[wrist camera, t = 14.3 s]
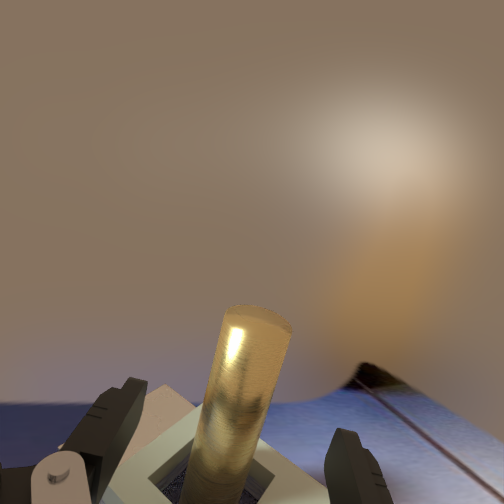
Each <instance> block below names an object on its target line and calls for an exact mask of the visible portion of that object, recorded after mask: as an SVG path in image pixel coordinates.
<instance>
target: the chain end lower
mask: <svg viewBox="0 0 504 504" xmlns="http://www.w3.org/2000/svg"><path fill="white" fill-rule="evenodd" d="M195 408H196V407H195V406H194V405H192V404H191V403H190V402H188V401H187V400H186V399H184V398H183V397H182V396H181V395H179V394H178V393H177V392H175V391H174V390H173V389H171V388H170V387H169V386H168V385H166V384H164V385H162V386H161V387H159V388H157V389H156V390H154V391H152V392H150V393H149V394H147V395H145V401H144V406H143V411H142V415H141V418H140V421H139V424H138V426H137V429H136V431H135V433H134V435H133V437H132V439H131V441H130V443H129V445H128V447H127V449H126V451H125V453H124V455H123V457H122V459H121V461H120V463H119V465H118V467H119V466H120V465H121V464H123V463H124V462H125V461H127V460H128V459H129V458H131V457H132V456H133V455H135V454H136V453H137V452H139V451H140V450H141V449H143V448H144V447H145V446H147V445H148V444H149V443H151V442H152V441H153V440H154V439H156V438H157V437H158V436H160V435H161V434H162V433H164V432H165V431H166V430H168V429H169V428H170V427H172V426H173V425H174V424H176V423H177V422H178V421H180V420H181V419H182V418H184V417H185V416H186V415H188V414H189V413H190V412H192V411H193V410H194V409H195ZM63 445H64V444H62V445H60V446H59V447H58V449H57V452H58V451H59V450H60V449H61V447H62V446H63ZM190 454H191V453H189V454H188V455H187V456H186V457H185V458H184V459H183V460H182V461H181V462H180V463H179V464H177V465H176V466H175V467H174V468H173V469H172V470H171V471H170V472H169V473H168V474H166V475H165V476H164V477H163V478H162V479H161V480H160V481H159V482H158V483H157V484H156V485H155V486H156V487H157V488H158V489H159V490H160V491H161V492H162V491H163V490H164V489H165V488H166V487H167V486H168V485H169V484H170V483H171V482H172V481H173V480H174V479H175V478H176V477H177V476H178V475H179V474H181V473H182V472H183V471H184V470H185V469H186V468H187V466H188V462H189V458H190ZM244 489H245V490H246V491H247V492H249V493H250V494H251V495H252V496H253V497H254V498H256V499H257V500H258V501H259V500H260V498H261V497H262V495H263V494H264V492H265V491H266V489H267V488H266V487H264V486H263V485H262V484H261V483H259V482H258V481H257V480H256V479H255V478H253V477H252V476H251V475H250V474H248V476H247V479H246V483H245V486H244ZM99 504H105V502H104V501H103V500H102V499H101V500H100V502H99Z"/></svg>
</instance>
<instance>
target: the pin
mask: <svg viewBox="0 0 504 504" xmlns="http://www.w3.org/2000/svg"><path fill="white" fill-rule="evenodd" d="M291 335H292V327H291V325H290V324H289V322H287V320H285V319H284V318H283V317H282V316H280V315H279V314H277V313H275V312H273V311H271V310H268V309H265V308H262V307H258V306H253V305H237V306H232V307H230V308H229V309H227V310H226V312H225V316H224V319H223V323H222V327H221V331H220V336H219V340H218V344H217V348H216V352H215V356H214V360H213V365H212V368H211V372H210V377H209V381H208V385H207V389H206V393H205V397H204V401H203V405H202V409H201V413H200V417H199V421H198V425H197V430H196V434H195V438H194V442H193V446H192V450H191V454H190V458H189V462H188V466H187V470H186V474H185V479H184V483H183V487H182V491H181V495H180V499H179V503H178V504H239V502H240V499H241V495H242V492H243V489H244V486H245V483H246V479H247V476H248V473H249V470H250V466H251V463H252V460H253V457H254V454H255V450H256V447H257V444H258V441H259V438H260V434H261V431H262V428H263V425H264V421H265V418H266V415H267V412H268V409H269V405H270V402H271V399H272V396H273V392H274V389H275V386H276V383H277V380H278V376H279V373H280V370H281V367H282V364H283V360H284V357H285V354H286V351H287V347H288V344H289V341H290V337H291Z"/></svg>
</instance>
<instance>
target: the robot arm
mask: <svg viewBox="0 0 504 504" xmlns="http://www.w3.org/2000/svg"><path fill="white" fill-rule="evenodd" d="M147 384H148V383H147V381H144V380H140V379H136V378H132V377H129V378H128V380H127V381H126V383H125V384H124V385H123V387H122V388H121V389H118V388H113V387H112V388H110V389H108V390H107V391H105V392H104V393H102V394H101V395H100V396H99V397H98V399H97V400H96V401H95V403H94V404H93V406H92V407H91V408H90V409H89V411H88V412H87V413H86V416H84V417H83V419H82V420H81V422H80V423H79V424H78V426H77V427H76V428H75V430H74V431H73V432H72V434H71V435H70V436H69V438H68V439H67V440H66V442H65V443H64V445H63V446H62V447H61V449H60V450H59V451H58V452H56V453H53V454H51V455H49V456H47V457H46V458H44V459H43V460H42V461H40V462H39V463H38V464H37V465H33V466H29V467H19V468H6V469H2V466H1V463H0V504H99V502H100V500H101V498H102V496H103V494H104V492H105V490H106V489H107V487H108V485H109V483H110V481H111V479H112V477H113V475H114V473H115V471H116V469H117V467H118V465H119V463H120V461H121V459H122V457H123V455H124V453H125V451H126V449H127V447H128V445H129V443H130V441H131V439H132V437H133V435H134V433H135V431H136V429H137V426H138V424H139V421H140V418H141V415H142V411H143V406H144V401H145V395H146V390H147ZM324 473H325V479H326V484H327V489H328V494H329V499H330V504H394V503H393V501H392V498H391V495H390V493H389V490H388V489H387V485H386V482H385V480H384V478H383V475H382V472H381V469H380V467H379V464H378V462H377V460H376V459H375V458H374V456H373V455H372V454H371V452H370V451H369V450H368V449H365V448H363V447H362V445H361V442H360V439H359V436H358V434H357V433H356V432H354V431H349V430H345V429H341V428H337V429H336V431H335V433H334V436H333V439H332V441H331V444H330V446H329V449H328V452H327V454H326V457H325V463H324Z"/></svg>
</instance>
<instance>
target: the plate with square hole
mask: <svg viewBox="0 0 504 504" xmlns="http://www.w3.org/2000/svg"><path fill="white" fill-rule="evenodd" d="M202 405H203V403H202V404H201V405H199V406H198V407H197V408H195V409H194V410H193V411H192V412H190V413H189V414H188V415H186V416H185V417H184V418H182V419H181V420H180V421H178V422H177V423H176V424H174V425H173V426H172V427H170V428H169V429H168V430H166V431H165V432H164V433H162V434H161V435H160V436H158V437H157V438H156V439H154V440H153V441H152V442H151V443H149V444H148V445H147V446H145V447H144V448H143V449H141V450H140V451H139V452H137V453H136V454H135V455H133V456H132V457H131V458H129V459H128V460H127V461H125V462H124V463H123V464H121V465H120V466H119V467H117V469H116V471H115V473H114V475H113V477H112V479H111V481H110V483H109V485H108V487H107V489H106V490H105V492H104V494H103V496H102V498H101V499H102V500H103V501H104V502H105V504H172V503H171V502H170V501H169V500H168V499H167V498H166V497H165V496H164V495H163V493H162V492H161V491H160V490H159V489H158V488H157V487H156V486H155V485H156V484H157V483H158V482H159V481H160V480H161V479H162V478H163V477H164V476H165V475H166V474H168V473H169V472H170V471H171V470H172V469H173V468H174V467H175V466H176V465H177V464H179V463H180V462H181V461H182V460H183V459H184V458H185V457H186V456H187V455H188V454H189V453H191V450H192V446H193V442H194V438H195V434H196V430H197V425H198V421H199V417H200V413H201V409H202ZM248 474H250V475H251V476H252V477H253V478H255V479H256V480H257V481H258V482H259V483H261V484H262V485H263V486H264V487H266V488H267V489H266V491H265V492H264V494H263V495H262V497H261V498H260V500H259V501H258V503H257V504H330V499H329V494H328V489H327V488H326V487H324V486H323V485H322V484H320V483H319V482H318V481H316V480H315V479H314V478H312V477H311V476H310V475H308V474H307V473H306V472H304V471H303V470H301V469H300V468H299V467H297V466H296V465H295V464H293V463H292V462H291V461H289V460H288V459H287V458H285V457H284V456H283V455H281V454H280V453H279V452H277V451H276V450H274V449H273V448H272V447H270V446H269V445H268V444H266V443H265V442H264V441H262V440H261V439H260V438H259V441H258V444H257V447H256V450H255V454H254V457H253V460H252V463H251V466H250V470H249V473H248Z"/></svg>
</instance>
